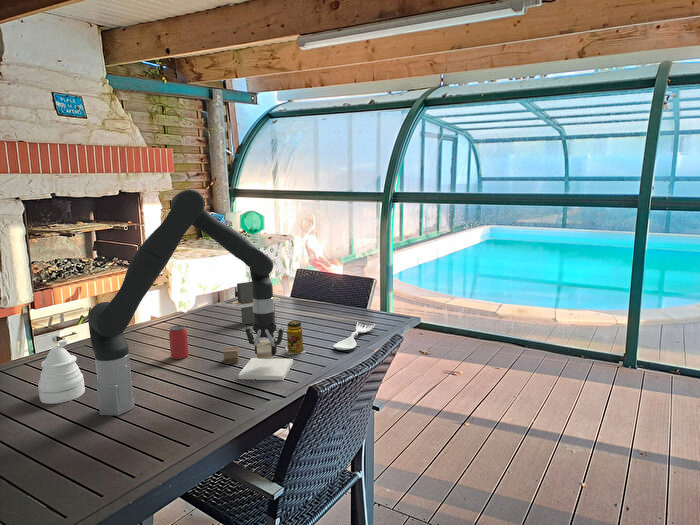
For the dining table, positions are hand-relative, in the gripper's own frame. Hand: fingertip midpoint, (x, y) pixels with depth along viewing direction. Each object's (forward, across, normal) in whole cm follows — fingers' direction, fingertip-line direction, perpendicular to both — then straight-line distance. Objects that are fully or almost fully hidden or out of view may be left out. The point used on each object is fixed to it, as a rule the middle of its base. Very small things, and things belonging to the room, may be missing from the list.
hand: (266, 354), depth 177 cm
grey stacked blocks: (+7, -21, +59) cm, 63 cm away
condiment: (+6, +6, +21) cm, 23 cm away
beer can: (+6, -38, +11) cm, 40 cm away
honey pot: (+6, -62, -24) cm, 67 cm away
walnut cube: (+6, -16, +8) cm, 19 cm away
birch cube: (0, 0, 0) cm, 0 cm away
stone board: (+6, 0, 0) cm, 6 cm away
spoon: (+7, +29, +34) cm, 45 cm away
